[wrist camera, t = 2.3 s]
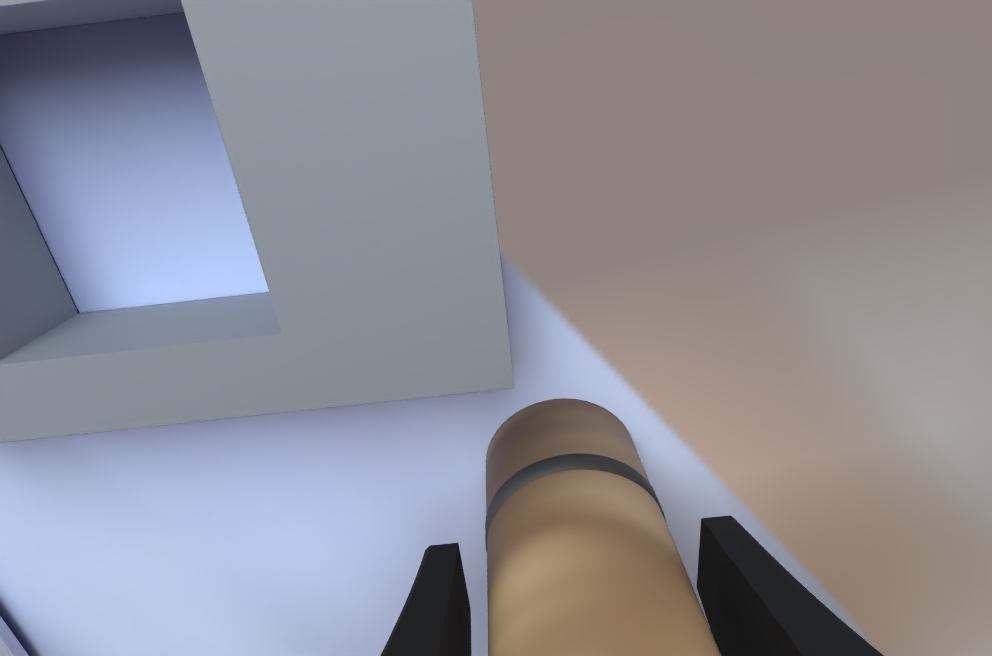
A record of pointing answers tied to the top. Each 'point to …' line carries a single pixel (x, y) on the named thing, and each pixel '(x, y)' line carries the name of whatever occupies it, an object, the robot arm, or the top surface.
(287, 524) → the top surface
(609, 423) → the peg
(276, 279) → the board
